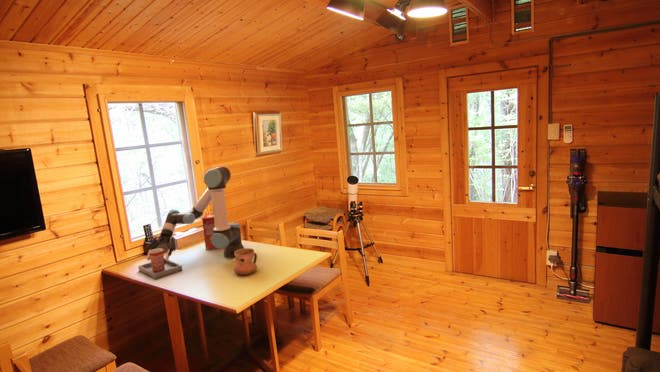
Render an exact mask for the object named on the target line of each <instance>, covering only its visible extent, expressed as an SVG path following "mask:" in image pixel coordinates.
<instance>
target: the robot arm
mask: <svg viewBox="0 0 660 372" xmlns="http://www.w3.org/2000/svg"><path fill="white" fill-rule="evenodd" d="M203 175H204V176H203V183H204V184H205V185H206V190H205V191H204V192H203V194H202V195H201V196H200V197H199V199H198V200H197V202H196V203H195V205H194V206H192V208H191V209H190V210H187V211H185V212H180V211H179V210H177V209H170V210H169V211H168V212H167V215H166V218H165V222H164V223H163V226H162V229H161V232H160V236H159V237H158V236H156V235H155V237H154V239H153V240H152V241H151V242H150V243H149V245H147V247H146V250H148V251H147V256H146V258H145V259H146V260H147V261H150V262H151V260H150V255H149V251H150V250H153V249H157V248H158V247H159V246H160V245H166V246H167V247H168V250H167V251H168V252H166V254H165V256H164V258H165V260H166V261H168V260H170V257H171V255H172V254H173V252H175V251H176V250H177V249H176V243H175V242H176V238H175V237H174V236H173V235H174V232H175V229H176V226H177V225H190V224H191V225H192V224H193V223H194V222H195V221H196V220H197V219H199V218H201V217H203V216H204V211H205V210H206V209H207V208H208V207H209V205H210V204H212V206H211V207H212V212H213V214H212V215H214V222H215V227H214V228H213V235H212V237H211V242H212V244H213V245H214V246H215V247H216V248H218V249H219V250H223V257H224V258H226V259H236V258H235V255H234V252H235V251H237V250H239V249H244V247H245V246H244V245H243V242H242V233H241V225H240V223H238V222H228V214H227V205H226V196H225V190H226V189H227V185H228V183H229V181H230V180H231V177H232V173H231V171H230V169H229V168H228V167H226V166H224V165H223V166H222V165H221V166H217V167H214V168H210V169H208V170H207V171H206V172H205V173H204V174H203ZM218 249H217V250H218Z"/></svg>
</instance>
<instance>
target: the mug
mask: <svg viewBox="0 0 660 372" xmlns="http://www.w3.org/2000/svg"><path fill="white" fill-rule="evenodd" d="M148 251H149V250H148ZM167 252H168V250H167V249H164V248H161V247H159V248H158V247H156V248H155V249H153V250H150V251H149V255H150V262H151V265H152V269H153V272H160V271H163V270H164V269H165V266H164V265H165V263H166V260H165V261H164V258H165V253H167Z"/></svg>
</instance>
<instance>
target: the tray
mask: <svg viewBox="0 0 660 372" xmlns="http://www.w3.org/2000/svg"><path fill="white" fill-rule="evenodd" d="M164 261H165V257H164ZM164 266H165V269H164V270H163V271H160V272H153V269H152V265H151V261H150V262H148V263H145V264H141V265H138V271H139V272H140V273H142V274H144V275H146V276H148V277H149V278H151V279H153V280H159V279H161V278H164V277H168V276H171V275H173V274H176V273H178V272H179V273H180V272H182V271H183V266H182V264H179V263H177V262H175V261H173V260H170V259H168V261H166V263H165V265H164Z"/></svg>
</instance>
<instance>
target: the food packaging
mask: <svg viewBox="0 0 660 372" xmlns="http://www.w3.org/2000/svg"><path fill="white" fill-rule="evenodd" d="M201 220H202V228H203V239H204V246H205V251H211V250H218V248H216V247H215V246H214V245H213V244H212V242H211V237H212V235H213V228H214V227H215V222H214V214H207V215H202V219H201Z"/></svg>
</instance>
